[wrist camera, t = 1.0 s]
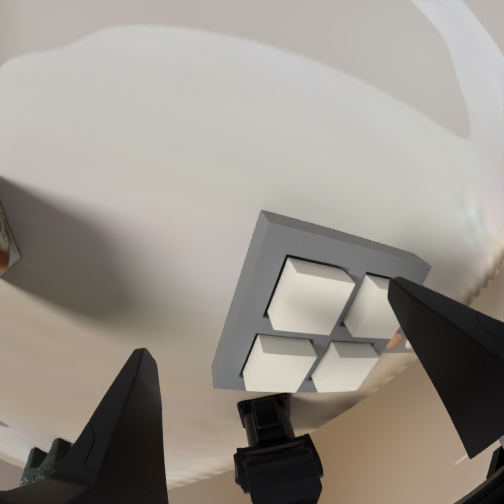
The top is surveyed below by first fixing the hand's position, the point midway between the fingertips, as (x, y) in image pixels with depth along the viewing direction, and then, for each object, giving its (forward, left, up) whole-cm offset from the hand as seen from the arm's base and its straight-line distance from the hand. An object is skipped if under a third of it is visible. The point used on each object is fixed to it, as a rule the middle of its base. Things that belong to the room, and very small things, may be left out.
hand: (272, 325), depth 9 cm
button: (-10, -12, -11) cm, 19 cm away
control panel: (-12, -7, -14) cm, 19 cm away
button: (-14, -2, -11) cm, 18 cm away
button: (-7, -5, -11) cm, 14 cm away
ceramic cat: (-39, +44, -14) cm, 60 cm away
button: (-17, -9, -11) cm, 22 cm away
